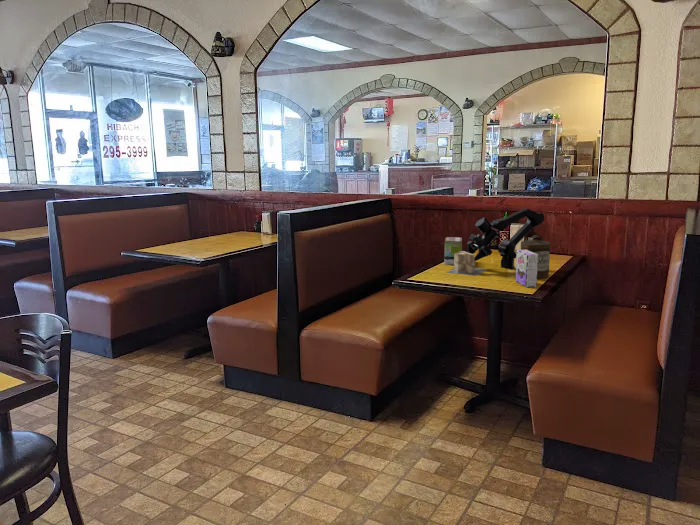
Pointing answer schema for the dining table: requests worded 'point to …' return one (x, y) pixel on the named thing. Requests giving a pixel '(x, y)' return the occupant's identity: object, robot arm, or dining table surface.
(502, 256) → the robot arm
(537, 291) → the dining table surface
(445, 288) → the dining table surface
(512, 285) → the dining table surface
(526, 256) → the candy box
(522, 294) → the dining table surface
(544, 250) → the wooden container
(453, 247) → the tea box
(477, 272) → the push board
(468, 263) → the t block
